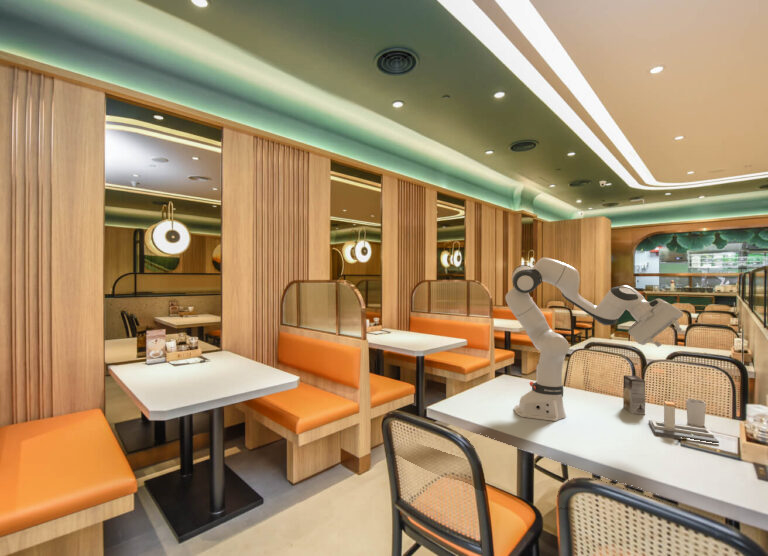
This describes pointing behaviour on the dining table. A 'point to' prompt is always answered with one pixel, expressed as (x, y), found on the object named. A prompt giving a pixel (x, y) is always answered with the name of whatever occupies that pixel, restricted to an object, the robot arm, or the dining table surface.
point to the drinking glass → (696, 412)
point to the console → (682, 432)
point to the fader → (669, 414)
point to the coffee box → (634, 394)
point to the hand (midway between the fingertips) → (669, 338)
